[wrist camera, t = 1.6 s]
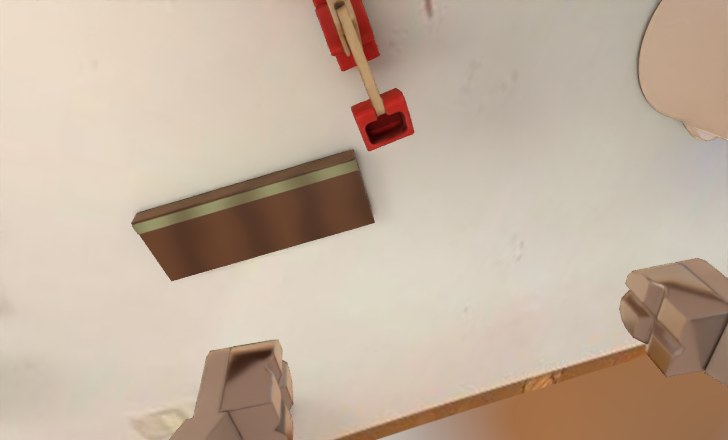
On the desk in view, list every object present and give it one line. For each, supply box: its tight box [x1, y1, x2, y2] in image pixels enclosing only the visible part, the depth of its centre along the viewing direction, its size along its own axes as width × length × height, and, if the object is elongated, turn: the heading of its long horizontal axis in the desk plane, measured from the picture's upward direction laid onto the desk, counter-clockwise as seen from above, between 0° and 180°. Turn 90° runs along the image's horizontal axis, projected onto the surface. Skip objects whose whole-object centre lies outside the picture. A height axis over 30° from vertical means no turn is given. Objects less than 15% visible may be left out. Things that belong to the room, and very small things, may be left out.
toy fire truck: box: [313, 0, 414, 151], centre depth 28 cm, size 3×14×10 cm, turn 21°
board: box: [131, 150, 375, 281], centre depth 40 cm, size 20×7×2 cm, turn 105°
